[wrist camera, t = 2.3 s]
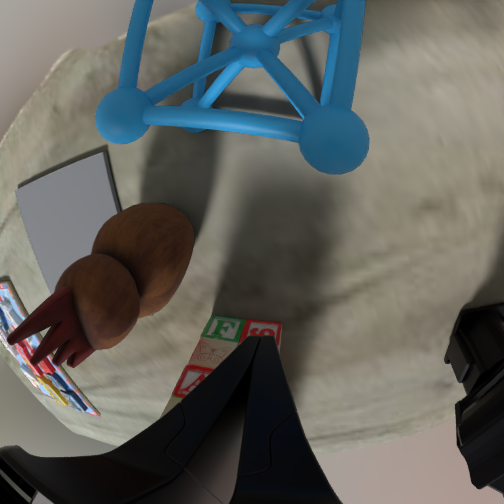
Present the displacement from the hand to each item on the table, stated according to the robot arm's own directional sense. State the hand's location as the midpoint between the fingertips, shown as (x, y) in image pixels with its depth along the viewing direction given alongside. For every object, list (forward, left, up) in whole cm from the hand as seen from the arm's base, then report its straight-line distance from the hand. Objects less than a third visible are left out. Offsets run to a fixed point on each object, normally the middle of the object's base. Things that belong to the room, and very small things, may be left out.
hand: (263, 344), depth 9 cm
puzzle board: (+50, +20, -12) cm, 55 cm away
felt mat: (+21, 0, -12) cm, 24 cm away
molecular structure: (0, -11, -12) cm, 16 cm away
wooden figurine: (+9, 0, -12) cm, 15 cm away
